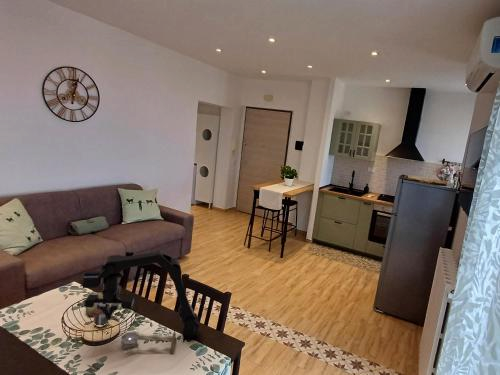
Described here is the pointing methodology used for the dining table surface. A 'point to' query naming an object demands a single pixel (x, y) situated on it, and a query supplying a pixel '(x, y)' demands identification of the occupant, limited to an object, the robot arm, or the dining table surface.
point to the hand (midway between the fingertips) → (109, 319)
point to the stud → (129, 340)
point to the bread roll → (91, 310)
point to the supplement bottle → (99, 316)
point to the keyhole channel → (153, 350)
